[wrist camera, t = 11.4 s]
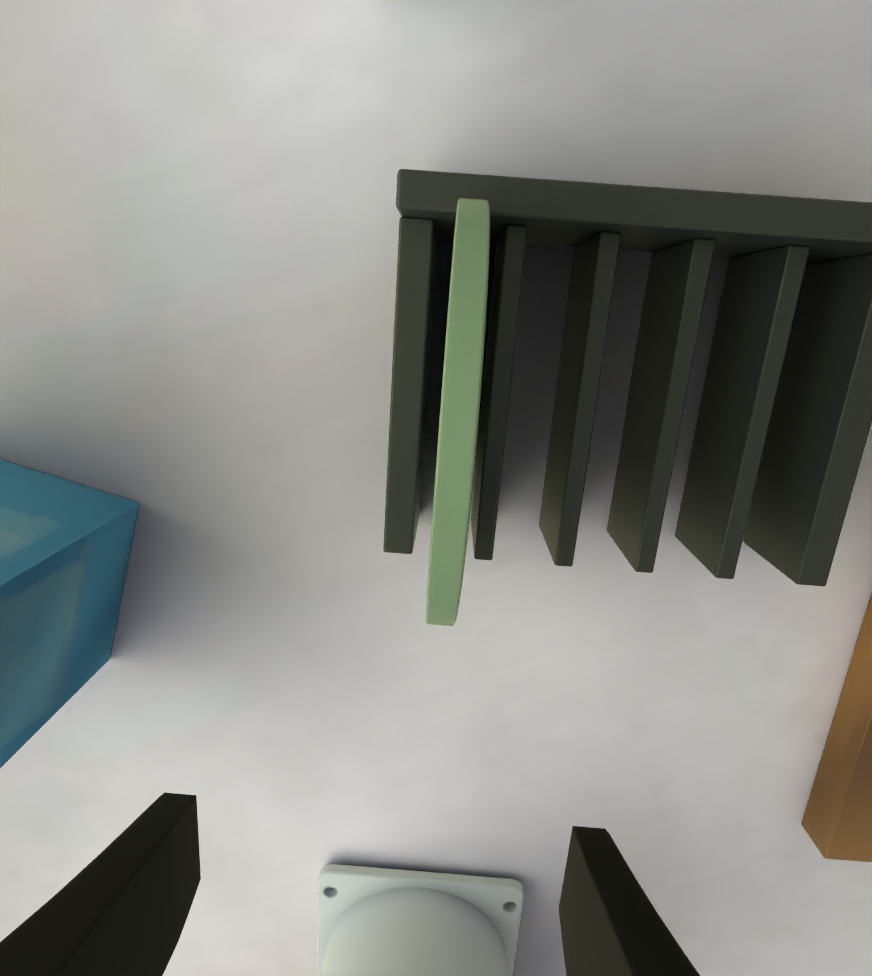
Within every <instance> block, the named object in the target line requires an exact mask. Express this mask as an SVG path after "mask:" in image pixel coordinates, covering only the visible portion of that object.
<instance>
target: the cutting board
mask: <svg viewBox="0 0 872 976" xmlns="http://www.w3.org/2000/svg"><path fill="white" fill-rule="evenodd" d="M802 826H803V827H804V829H805V830H806V832H807V833H808V835H809V836H810V838H811V839H812V841H813V842H814V844H815V845H816V847H817V848H818V849H819V851H820V852H821V854H822V855H823V857H824V858H827V859H839V860H851V861H863V862H872V594H871V597H870V601H869V604H868V607H867V610H866V614H865V617H864V620H863V624H862V627H861V630H860V633H859V637H858V640H857V643H856V646H855V650H854V653H853V656H852V660H851V663H850V666H849V669H848V673H847V676H846V679H845V682H844V686H843V689H842V692H841V696H840V699H839V702H838V705H837V709H836V712H835V715H834V718H833V722H832V725H831V728H830V732H829V735H828V738H827V741H826V745H825V748H824V751H823V754H822V758H821V761H820V764H819V768H818V771H817V774H816V777H815V781H814V784H813V787H812V790H811V794H810V797H809V800H808V804H807V807H806V810H805V813H804V817H803V820H802Z"/></svg>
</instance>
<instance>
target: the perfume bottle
mask: <svg viewBox="0 0 872 976" xmlns="http://www.w3.org/2000/svg"><path fill="white" fill-rule="evenodd" d="M138 506H139V502H136V501H132V500H129V499H126V498H123V497H120V496H116V495H113V494H110V493H107V492H103V491H100V490H97V489H94V488H91V487H87V486H84V485H81V484H78V483H74V482H71V481H68V480H65V479H62V478H58V477H55V476H52V475H49V474H45V473H42V472H39V471H36V470H33V469H29V468H26V467H23V466H20V465H16V464H13V463H10V462H7V461H4V460H0V768H1V767H2V766H3V765H4V764H5V763H6V762H7V761H8V760H9V759H10V758H11V757H12V756H13V755H14V754H15V753H16V752H17V751H18V750H19V749H20V748H21V747H22V746H23V745H24V744H25V743H26V742H27V741H28V740H29V739H30V738H31V737H32V736H33V735H34V734H35V733H36V732H37V731H38V730H39V729H40V728H41V727H42V726H43V725H44V724H45V723H46V722H47V721H48V720H49V719H50V718H51V717H52V716H53V715H54V714H55V713H56V712H57V711H58V710H59V709H60V708H61V707H62V706H63V705H64V704H65V703H66V702H67V701H68V700H69V699H70V698H71V697H72V696H73V695H74V694H75V693H76V692H77V691H78V690H79V689H80V688H81V687H82V686H83V685H84V684H85V683H86V682H87V681H88V680H89V679H90V678H91V677H92V676H93V675H94V674H95V673H96V672H97V671H98V670H99V669H100V668H101V667H102V666H103V665H104V664H105V663H106V662H107V661H108V660H109V658H110V653H111V648H112V643H113V637H114V632H115V627H116V622H117V616H118V611H119V606H120V601H121V595H122V590H123V585H124V579H125V574H126V569H127V564H128V558H129V553H130V548H131V543H132V537H133V532H134V527H135V522H136V516H137V511H138Z"/></svg>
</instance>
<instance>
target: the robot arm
mask: <svg viewBox="0 0 872 976" xmlns="http://www.w3.org/2000/svg"><path fill="white" fill-rule="evenodd" d="M200 879H201V877H200V858H199V839H198V821H197V802H196V795H185V794H173V793H164V794H163V795H161V796H160V797H159V798H158V799H157V800H156V801H155V802H154V803H153V804H152V805H151V806H149V807H148V808H147V809H146V810H145V811H144V812H143V813H142V814H141V815H140V816H139V817H138V818H137V819H136V820H135V821H134V822H133V823H132V824H131V825H130V826H129V827H128V828H127V829H126V830H125V831H124V832H123V833H122V834H121V835H119V836H118V837H117V838H116V839H115V840H114V841H113V842H112V843H111V844H110V845H109V846H108V847H107V848H106V849H105V850H104V851H103V852H102V853H101V854H100V855H98V856H97V857H96V858H95V859H94V860H93V861H92V862H91V863H90V864H89V865H88V866H87V867H85V868H84V869H83V870H82V871H81V872H80V873H79V874H78V875H77V876H76V877H75V878H73V879H72V880H71V881H70V882H69V883H68V884H67V885H66V886H65V887H64V888H63V889H61V890H60V891H59V892H58V893H57V894H56V895H55V896H54V897H53V898H51V899H50V900H49V901H48V902H47V903H46V904H45V905H43V906H42V907H41V908H40V909H39V910H37V911H36V912H35V913H34V914H33V915H32V916H30V917H29V918H28V919H27V920H26V921H25V922H23V923H22V924H21V925H20V926H19V927H18V928H16V929H15V930H14V931H13V932H12V933H11V934H9V935H8V936H7V937H6V938H5V939H4V940H2V941H1V942H0V976H162V975H163V973H164V971H165V969H166V966H167V964H168V962H169V960H170V958H171V956H172V954H173V951H174V949H175V947H176V945H177V943H178V940H179V938H180V935H181V932H182V930H183V927H184V924H185V921H186V919H187V916H188V913H189V910H190V908H191V905H192V902H193V899H194V896H195V893H196V890H197V887H198V885H199V882H200ZM331 887H333V888H331ZM523 901H524V892H523V886H522V884H521V883H520V882H519V881H517V880H515V879H508V878H496V877H484V876H472V875H460V874H448V873H435V872H423V871H411V870H399V869H387V868H375V867H363V866H351V865H338V864H328V865H326V866H324V867H323V868H322V869H321V871H320V875H319V879H318V926H317V976H513V969H514V962H515V955H516V948H517V942H518V935H519V928H520V921H521V914H522V908H523ZM559 914H560V924H561V933H562V942H563V950H564V959H565V967H566V974H567V976H700V975H699V974H698V972H697V971H696V969H695V968H694V966H693V965H692V964H691V962H690V961H689V959H688V958H687V956H686V955H685V954H684V952H683V951H682V949H681V948H680V946H679V945H678V943H677V942H676V940H675V939H674V937H673V936H672V934H671V933H670V931H669V930H668V928H667V927H666V925H665V924H664V922H663V921H662V919H661V918H660V916H659V915H658V913H657V912H656V910H655V908H654V907H653V905H652V904H651V902H650V901H649V899H648V897H647V896H646V894H645V893H644V891H643V889H642V888H641V886H640V885H639V883H638V881H637V880H636V878H635V876H634V875H633V873H632V871H631V870H630V868H629V867H628V865H627V863H626V861H625V860H624V858H623V856H622V855H621V853H620V851H619V850H618V848H617V846H616V844H615V843H614V841H613V839H612V837H611V836H610V834H609V833H608V832H607V831H606V829H602V828H589V827H577V826H573V828H572V834H571V840H570V845H569V851H568V857H567V863H566V869H565V875H564V881H563V887H562V893H561V898H560V904H559Z"/></svg>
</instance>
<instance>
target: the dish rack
mask: <svg viewBox="0 0 872 976" xmlns="http://www.w3.org/2000/svg"><path fill="white" fill-rule="evenodd" d="M396 206H397V209H398V211H399V212H400V214H401V216H402V217H401V218H400V224H399V244H398V265H397V285H396V305H395V326H394V346H393V367H392V387H391V407H390V428H389V448H388V468H387V489H386V509H385V529H384V552H390V553H403V554H412V552H413V547H414V541H415V535H416V530H417V524H418V519H419V508H420V493H421V478H422V463H423V448H424V433H425V417H426V402H427V387H428V372H429V357H430V342H431V327H432V312H433V296H434V281H435V266H436V251H437V235H438V236H452V237H454V244H453V255H452V267H451V279H450V292H449V304H448V316H447V329H446V342H445V355H444V368H443V381H442V394H441V407H440V420H439V433H438V447H437V461H436V474H435V488H434V502H433V516H432V531H431V545H430V560H429V575H428V591H427V609H426V622H427V624H434V625H447V626H453V625H454V623H455V621H456V617H457V613H458V607H459V601H460V594H461V588H462V580H463V572H464V564H465V555H466V547H467V538H468V528H469V518H470V509H471V499H472V488H473V478H474V467H475V455H476V444H477V433H478V420H479V408H480V396H481V382H482V369H483V355H484V340H485V325H486V308H487V291H488V271H489V246H490V239H493V240H498V241H497V248H496V258H495V269H494V280H493V291H492V302H491V312H490V323H489V334H488V345H487V356H486V366H485V377H484V388H483V399H482V410H481V420H480V431H479V442H478V453H477V464H476V474H475V485H474V496H473V507H472V518H471V522H472V535H473V547H474V558H475V559H481V560H492V558H493V549H494V539H495V530H496V520H497V511H498V501H499V492H500V482H501V473H502V463H503V454H504V444H505V435H506V425H507V416H508V406H509V397H510V387H511V378H512V368H513V359H514V349H515V340H516V330H517V321H518V311H519V302H520V292H521V283H522V273H523V264H524V254H525V245H526V242H535V243H548V244H562V245H576V246H575V248H574V254H573V262H572V270H571V278H570V286H569V294H568V301H567V309H566V317H565V325H564V333H563V341H562V349H561V357H560V364H559V372H558V380H557V388H556V396H555V404H554V412H553V420H552V427H551V435H550V443H549V451H548V459H547V467H546V475H545V483H544V490H543V498H542V506H541V514H540V522H539V526H540V529H541V531H542V534H543V536H544V539H545V541H546V544H547V546H548V549H549V551H550V554H551V556H552V559H553V561H554V564H555V565H558V566H572V565H573V559H574V552H575V545H576V538H577V531H578V525H579V518H580V511H581V504H582V497H583V491H584V484H585V477H586V470H587V463H588V457H589V450H590V443H591V436H592V429H593V422H594V416H595V409H596V402H597V395H598V388H599V382H600V375H601V368H602V361H603V354H604V348H605V341H606V334H607V327H608V320H609V314H610V307H611V300H612V293H613V286H614V280H615V273H616V266H617V259H618V252H619V249H631V250H645V251H654V252H652V256H651V262H650V268H649V274H648V280H647V286H646V293H645V299H644V305H643V311H642V317H641V323H640V330H639V336H638V342H637V348H636V354H635V361H634V367H633V373H632V379H631V385H630V391H629V398H628V404H627V410H626V416H625V422H624V429H623V435H622V441H621V447H620V453H619V459H618V466H617V472H616V478H615V484H614V490H613V497H612V503H611V509H610V515H609V521H608V527H607V532H608V533H609V534H610V536H611V537H612V539H613V540H614V542H615V543H616V544H617V546H618V547H619V549H620V550H621V551H622V553H623V554H624V556H625V557H626V559H627V560H628V561H629V563H630V564H631V566H632V567H633V569H634V570H635V571H636V572H648V573H652V572H653V568H654V563H655V557H656V552H657V547H658V542H659V536H660V531H661V526H662V520H663V515H664V510H665V505H666V499H667V494H668V489H669V483H670V478H671V473H672V468H673V462H674V457H675V452H676V446H677V441H678V436H679V430H680V425H681V420H682V415H683V409H684V404H685V399H686V393H687V388H688V383H689V378H690V372H691V367H692V362H693V356H694V351H695V346H696V340H697V335H698V330H699V325H700V319H701V314H702V309H703V303H704V298H705V293H706V288H707V282H708V277H709V272H710V266H711V261H712V256H713V255H714V256H728V257H731V258H730V259H729V264H728V269H727V274H726V280H725V285H724V290H723V295H722V300H721V305H720V310H719V315H718V320H717V325H716V330H715V335H714V341H713V346H712V351H711V356H710V361H709V366H708V371H707V376H706V381H705V386H704V391H703V396H702V402H701V407H700V412H699V417H698V422H697V427H696V432H695V437H694V442H693V447H692V452H691V457H690V462H689V468H688V473H687V478H686V483H685V488H684V493H683V498H682V503H681V508H680V513H679V518H678V523H677V529H676V534H675V537H676V538H677V539H678V540H679V541H680V542H681V543H682V544H683V545H684V546H685V547H686V548H687V549H688V550H689V551H690V552H691V553H692V554H693V555H694V556H695V557H696V558H697V559H698V560H699V561H700V562H701V563H702V564H703V565H704V566H705V567H706V568H707V569H708V570H709V571H710V572H711V573H712V574H713V575H714V576H715V577H716V578H726V579H733V578H734V574H735V570H736V565H737V561H738V557H739V552H740V548H741V544H742V539H743V535H744V539H743V542H744V543H745V544H747V545H748V546H749V547H750V548H752V549H753V550H754V551H756V552H757V553H758V554H759V555H761V556H762V557H763V558H764V559H766V560H767V561H768V562H770V563H771V564H772V565H773V566H775V567H776V568H777V569H778V570H780V571H781V572H782V573H783V574H785V575H786V576H787V577H789V578H790V579H791V580H792V581H794V582H795V583H796V584H801V585H814V586H825V585H826V583H827V579H828V575H829V572H830V568H831V565H832V561H833V558H834V554H835V550H836V547H837V543H838V540H839V536H840V533H841V529H842V525H843V522H844V518H845V515H846V511H847V508H848V504H849V500H850V497H851V493H852V490H853V486H854V483H855V479H856V476H857V472H858V468H859V465H860V461H861V458H862V454H863V451H864V447H865V443H866V440H867V436H868V433H869V429H870V426H871V422H872V203H871V202H857V201H843V200H829V199H815V198H801V197H787V196H773V195H758V194H744V193H730V192H716V191H702V190H688V189H674V188H660V187H646V186H632V185H618V184H604V183H590V182H576V181H562V180H548V179H534V178H520V177H506V176H492V175H478V174H464V173H450V172H436V171H422V170H408V169H401V170H399V171H398V176H397V197H396ZM807 262H810V263H808V264H807V267H806V263H807ZM805 267H806V271H805ZM804 271H805V276H804ZM803 276H804V280H803ZM802 280H803V284H802ZM801 284H802V289H801ZM800 289H801V293H800ZM799 293H800V297H799ZM798 297H799V302H798ZM797 302H798V306H797ZM796 306H797V310H796ZM795 310H796V315H795ZM794 315H795V319H794ZM793 319H794V323H793ZM792 323H793V328H792ZM791 328H792V332H791ZM790 332H791V336H790ZM789 336H790V340H789ZM788 341H789V345H788ZM787 345H788V349H787ZM786 349H787V353H786ZM785 353H786V358H785ZM784 358H785V362H784ZM783 362H784V366H783ZM782 366H783V371H782ZM781 371H782V375H781ZM780 375H781V379H780ZM779 379H780V384H779ZM778 384H779V388H778ZM777 388H778V392H777ZM776 392H777V396H776ZM775 397H776V401H775ZM774 401H775V405H774ZM773 405H774V409H773ZM772 410H773V414H772ZM771 414H772V418H771ZM770 418H771V422H770ZM769 423H770V427H769ZM768 427H769V431H768ZM767 431H768V435H767ZM766 436H767V440H766ZM765 440H766V444H765ZM764 444H765V448H764ZM763 449H764V453H763ZM762 453H763V457H762ZM761 457H762V461H761ZM760 461H761V465H760ZM759 466H760V470H759ZM758 470H759V474H758ZM757 474H758V478H757ZM756 479H757V483H756ZM755 483H756V487H755ZM754 487H755V491H754ZM753 492H754V496H753ZM752 496H753V500H752ZM751 500H752V504H751ZM750 505H751V509H750ZM749 509H750V513H749ZM748 513H749V517H748ZM747 518H748V522H747ZM746 522H747V526H746ZM745 526H746V530H745ZM744 531H745V534H744Z"/></svg>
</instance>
